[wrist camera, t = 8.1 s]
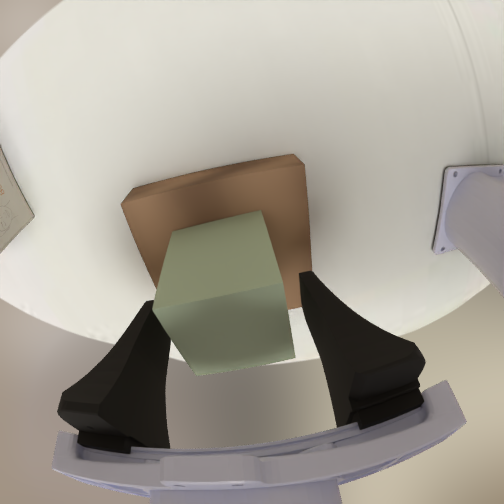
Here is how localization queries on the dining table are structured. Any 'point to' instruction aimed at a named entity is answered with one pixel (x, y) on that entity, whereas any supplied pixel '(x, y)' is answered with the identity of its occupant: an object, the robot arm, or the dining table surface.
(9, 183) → the small box
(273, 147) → the dining table surface
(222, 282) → the sage block
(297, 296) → the walnut pad
